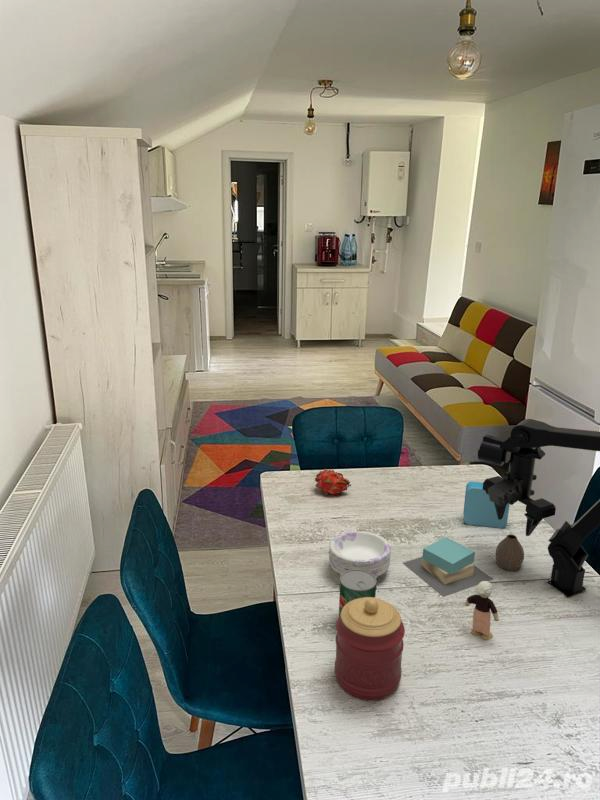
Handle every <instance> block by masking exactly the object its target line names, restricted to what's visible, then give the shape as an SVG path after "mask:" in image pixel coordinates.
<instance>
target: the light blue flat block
mask: <svg viewBox="0 0 600 800" xmlns="http://www.w3.org/2000/svg"><path fill="white" fill-rule="evenodd" d="M483 482H484V481H483ZM483 482H480V481H469V482H467V483H466V486H465V493H464V494H465V495H464V503H463V504H464V505H463V512H462V513H463V514H462V515H463V520H464V523H465V524H467V525H469V526H476V527H477V526H478V527H486V528H494V529H495V528H496V529H503V528H506V527H507V524H508V521H509V511H510V506H511V505H510V504H507V505H506V509H505V512H504V515H503V518H502V519H501V520H499V519H498V517H497V513H496V509H495V505H494V502H491V501H490V499H489V495H488V494H486V491H485V490H483Z"/></svg>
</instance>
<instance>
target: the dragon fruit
mask: <svg viewBox="0 0 600 800" xmlns="http://www.w3.org/2000/svg"><path fill="white" fill-rule="evenodd" d="M314 481H315V482H316V484H315V487H316V488H318V489H321V490H322V491H323V493H324V495H325V496H327V495H329V494H331V495H334V496H335V497H337V496H342V495H343V494H342V492H345V491H347V490H348V489H349V487H352V484H351V481H350V480H349V479H347V478H345V477H344V475H343V474H342V473H340V472H338V471H335V470H333V469H327V468H324V469H323V470H320V471H319V472H318V473H316V475H315V478H314Z"/></svg>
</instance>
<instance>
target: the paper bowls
mask: <svg viewBox="0 0 600 800" xmlns="http://www.w3.org/2000/svg"><path fill="white" fill-rule="evenodd" d="M328 545H329V546H328V547H329V549H328V563H329V565H330V567H331V568H332V570H334V572H336V573H338V574H339V575H340V576H341V575H342V574H343V573H344V572H346V571H348V570H353V569H359V570H365V571H368V572H370V573H371V574H373V575H374V576H375V578H376V579H378V577H379V576H382V575H383V574H385V573H386V572H387V571H388V569H389V568H390V564H391V551H392V549H391V545H390V543H389V542H388V541H387V540H386V539H385V538H384V537H382V536H381V535H379V534H376V533H373V532H369V531H362V530H361V531H359V530H357V531H355V530H354V531H347V532H343V533H340V534H338V535H336V536H334V537H333V538H332V539H331V540H330V542H329V544H328Z"/></svg>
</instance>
